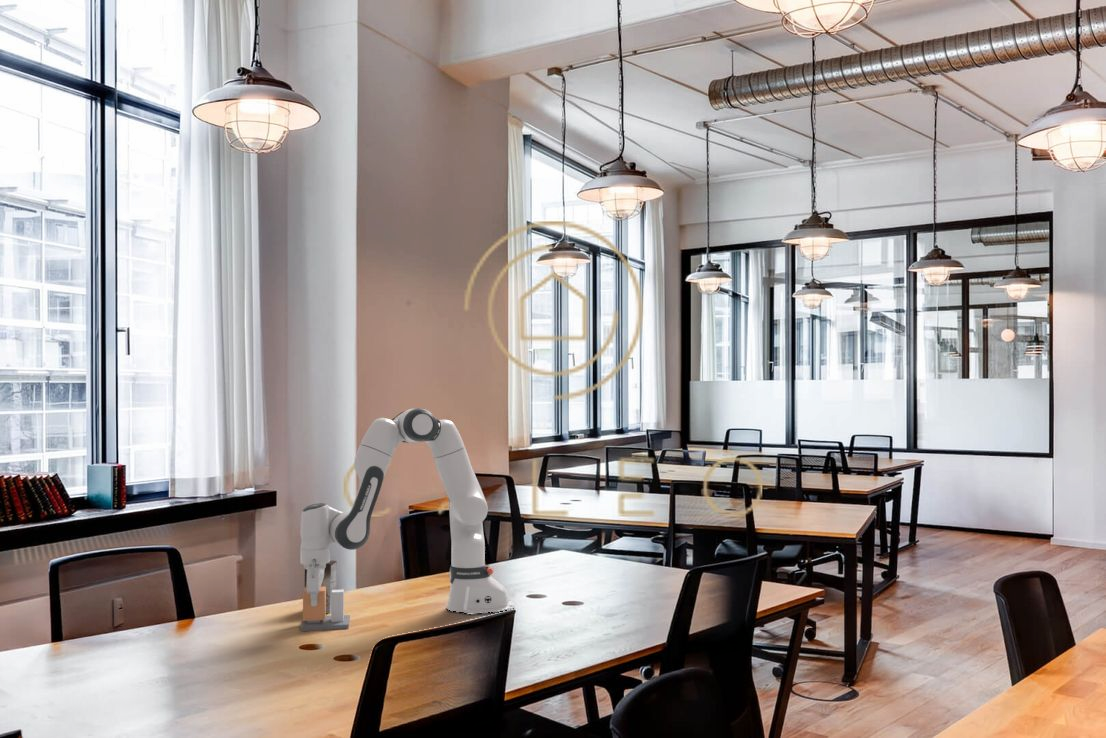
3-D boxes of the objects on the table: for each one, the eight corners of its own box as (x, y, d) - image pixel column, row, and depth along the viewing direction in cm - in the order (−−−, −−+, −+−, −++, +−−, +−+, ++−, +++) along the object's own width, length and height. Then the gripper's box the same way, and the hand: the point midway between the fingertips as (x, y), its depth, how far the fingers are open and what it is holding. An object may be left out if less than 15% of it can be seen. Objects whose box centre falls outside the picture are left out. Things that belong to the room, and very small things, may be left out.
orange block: (325, 614, 279) (326, 586, 279) (324, 619, 273) (324, 590, 273) (304, 615, 278) (304, 587, 278) (302, 621, 272) (303, 591, 272)
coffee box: (302, 612, 291) (303, 563, 292) (310, 608, 298) (310, 559, 298) (330, 613, 290) (330, 563, 291) (337, 608, 297) (337, 560, 297)
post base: (349, 618, 283) (350, 586, 283) (348, 628, 271) (348, 594, 272) (304, 620, 281) (304, 588, 281) (300, 630, 269) (300, 596, 269)
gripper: (323, 562, 266) (323, 609, 266) (327, 550, 286) (327, 594, 286) (301, 563, 265) (301, 610, 265) (307, 551, 285) (307, 595, 285)
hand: (315, 602), depth 276 cm, fingers open, 8 cm apart
